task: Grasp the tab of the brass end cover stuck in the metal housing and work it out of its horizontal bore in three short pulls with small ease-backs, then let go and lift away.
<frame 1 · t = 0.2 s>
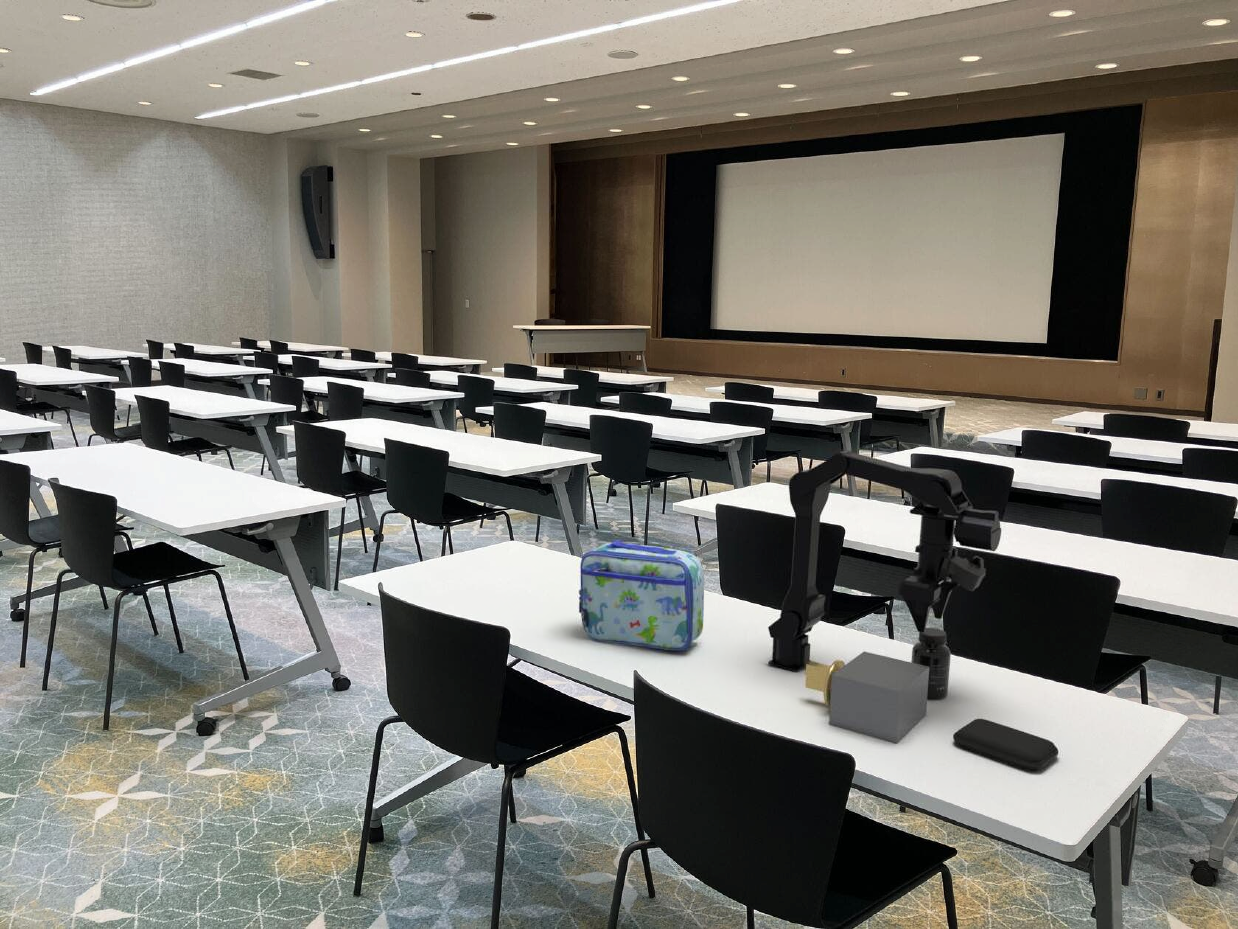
hand: (929, 625, 177), 14 cm above the table, fingers open, 9 cm apart
supplement bottle: (928, 694, 183), on the table
lunch box: (639, 642, 208), on the table
end cover: (835, 683, 175), point 4 cm above the table, slide at 1.5 cm
carrying case or bag: (1005, 753, 161), on the table
housing: (878, 719, 171), on the table
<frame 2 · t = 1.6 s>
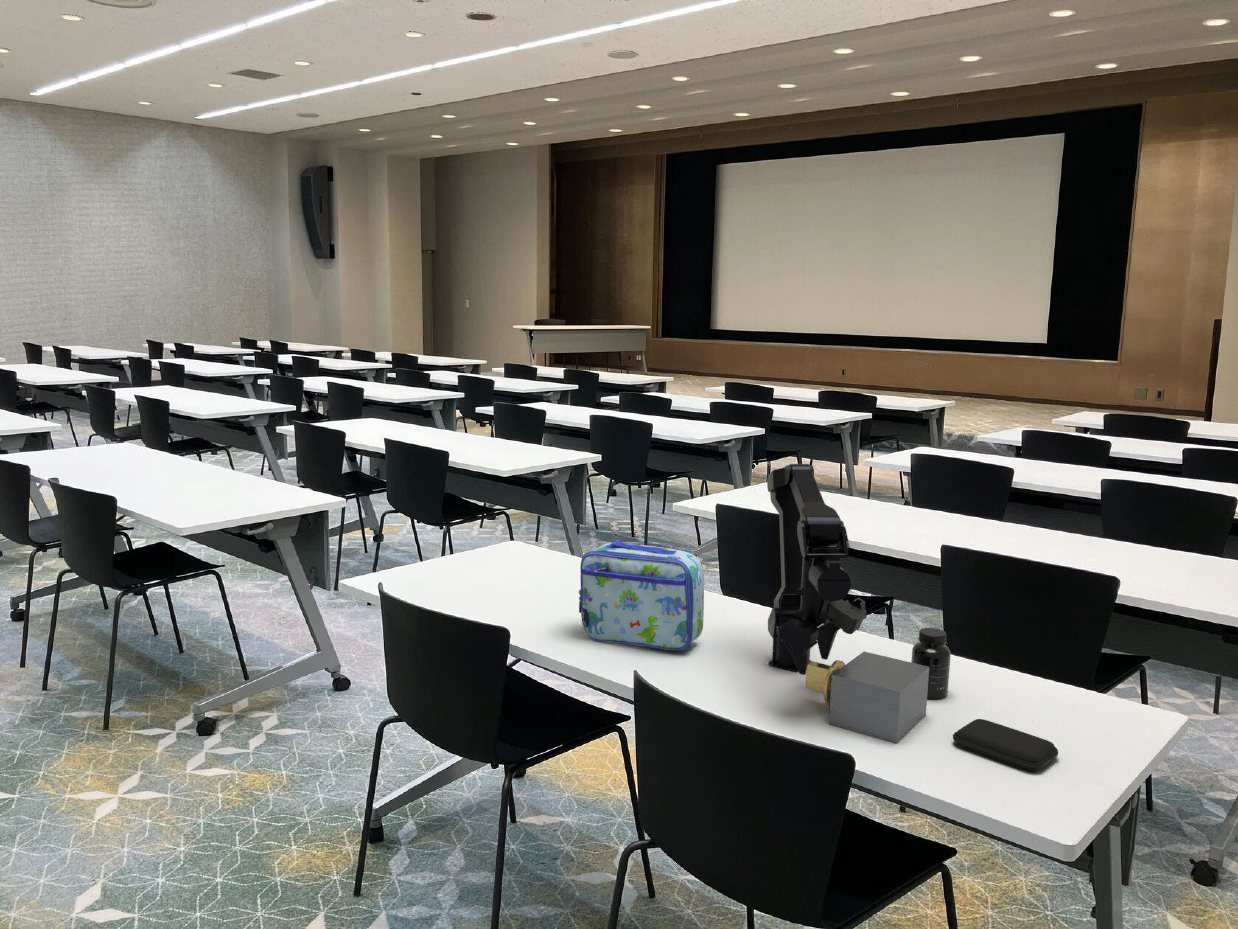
hand: (813, 666, 177), 7 cm above the table, fingers open, 9 cm apart
nothing on the table moved.
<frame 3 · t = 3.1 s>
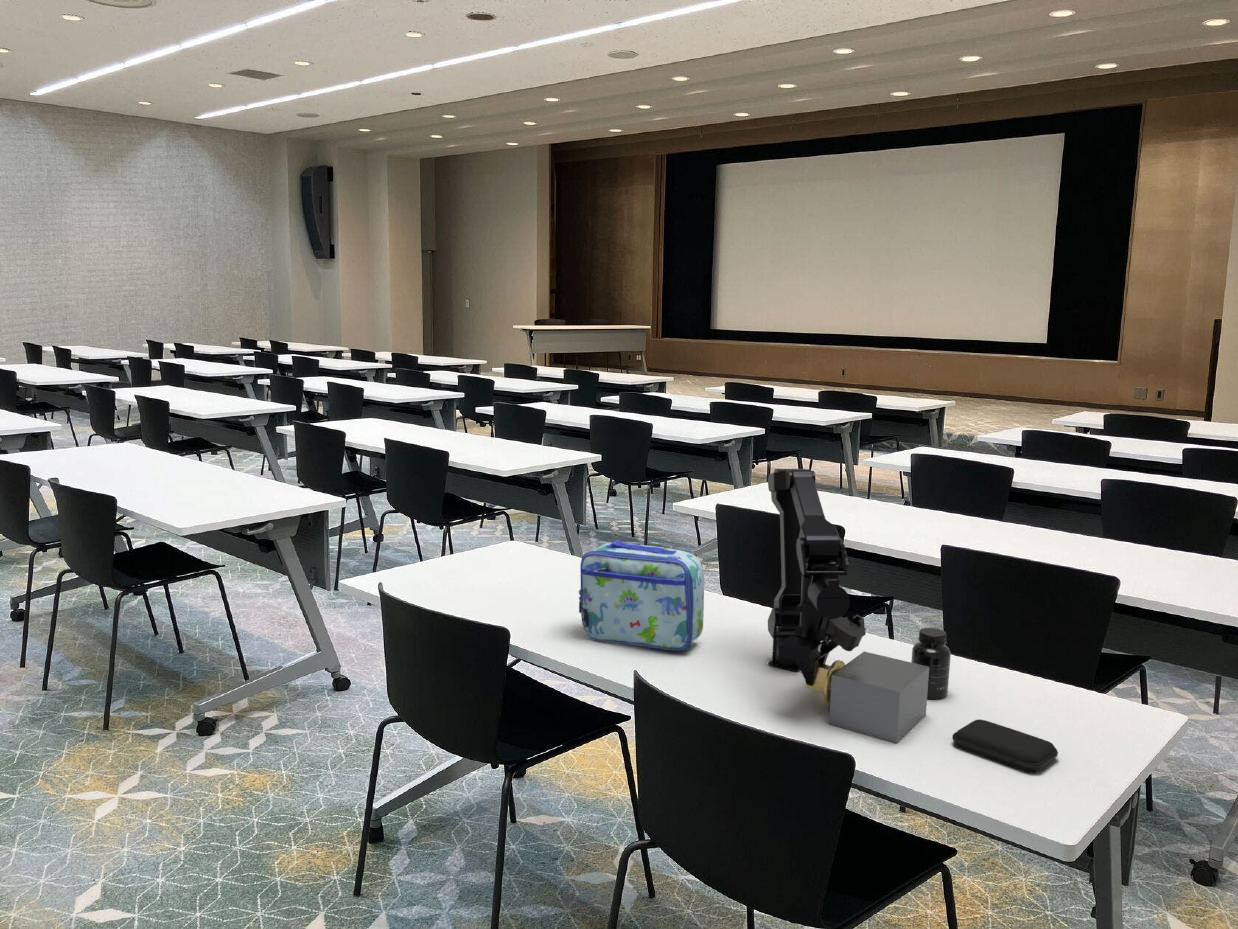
hand: (812, 683, 178), 4 cm above the table, fingers closed on end cover, 2 cm apart
end cover: (835, 683, 175), point 4 cm above the table, slide at 1.5 cm, touching gripper
everything else where it was.
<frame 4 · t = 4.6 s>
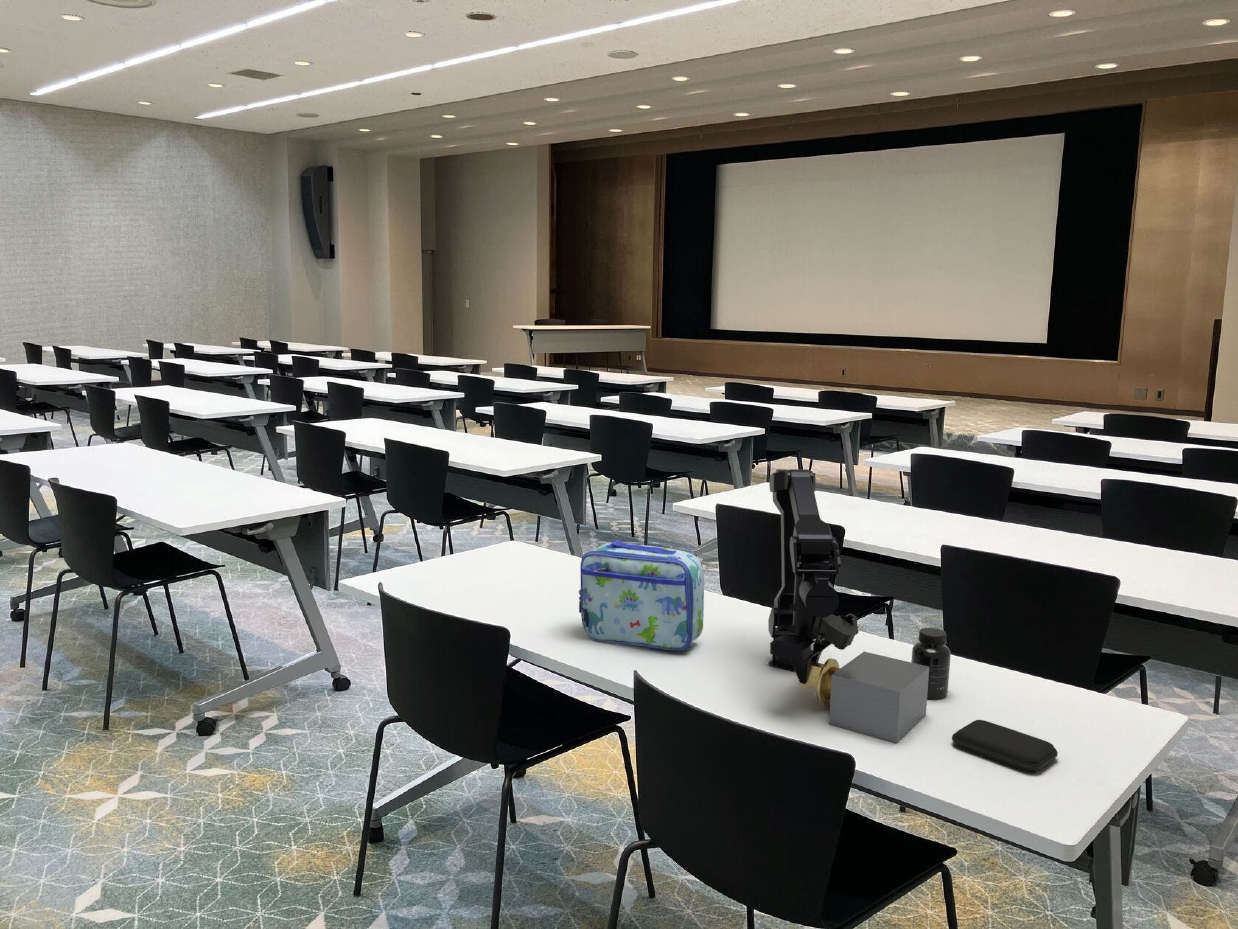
hand: (806, 681, 179), 4 cm above the table, fingers closed on end cover, 2 cm apart
end cover: (828, 682, 176), point 4 cm above the table, slide at 2.8 cm, touching gripper
everything else where it was.
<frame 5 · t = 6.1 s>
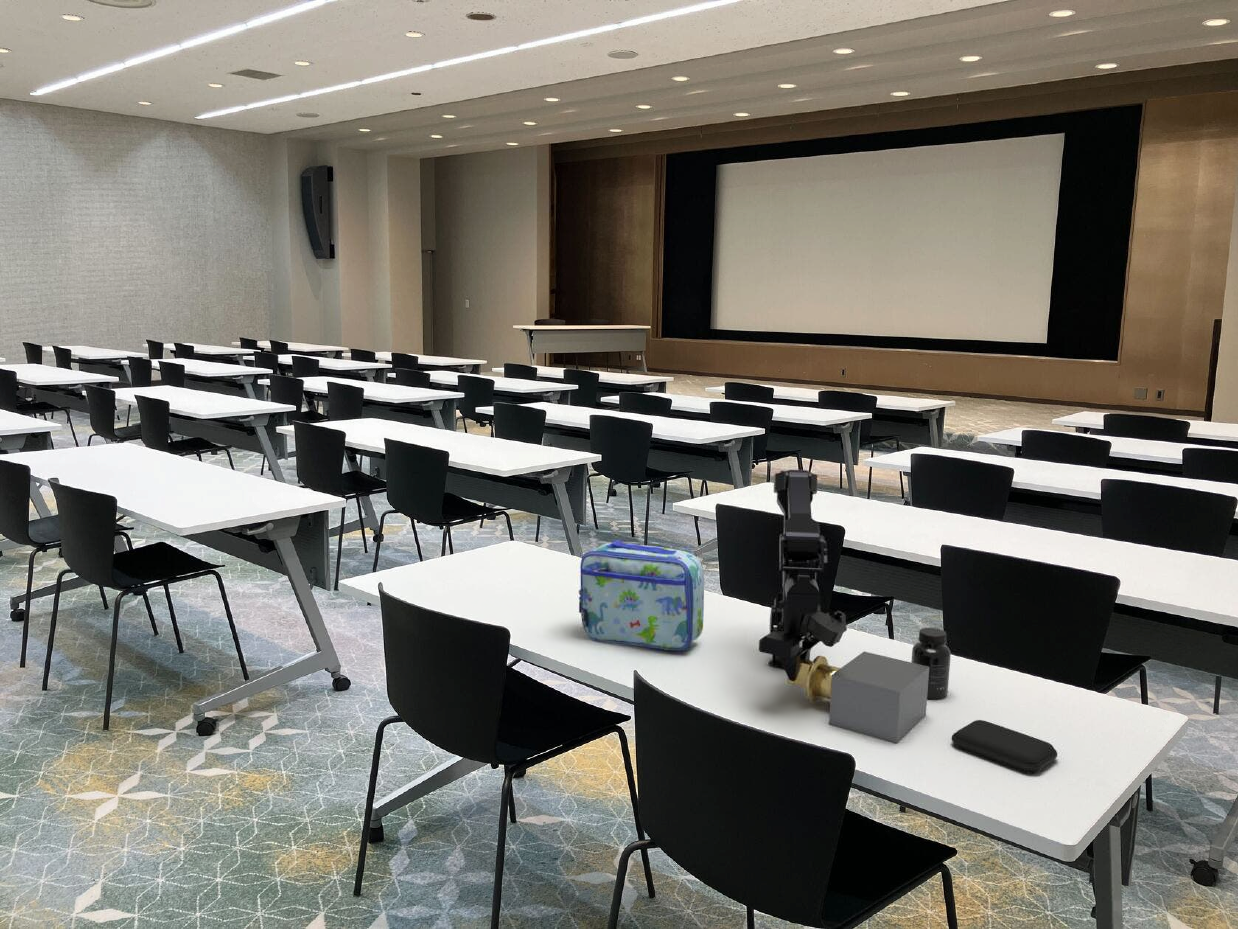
hand: (795, 678, 180), 3 cm above the table, fingers closed on end cover, 2 cm apart
end cover: (817, 679, 177), point 4 cm above the table, slide at 5.0 cm, touching gripper
everything else where it was.
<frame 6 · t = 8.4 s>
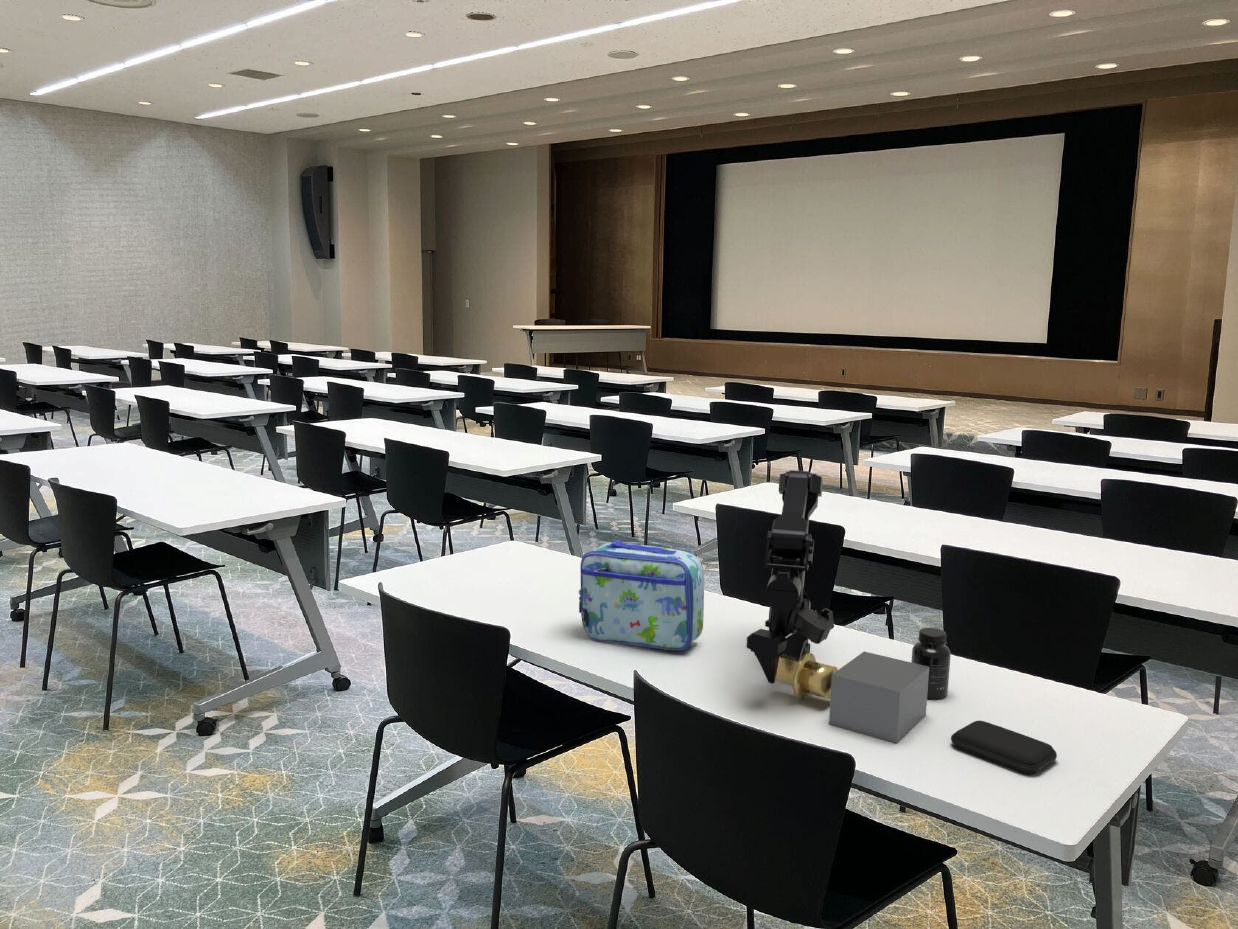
hand: (783, 675, 181), 3 cm above the table, fingers open, 9 cm apart
end cover: (805, 675, 179), point 4 cm above the table, slide at 7.4 cm
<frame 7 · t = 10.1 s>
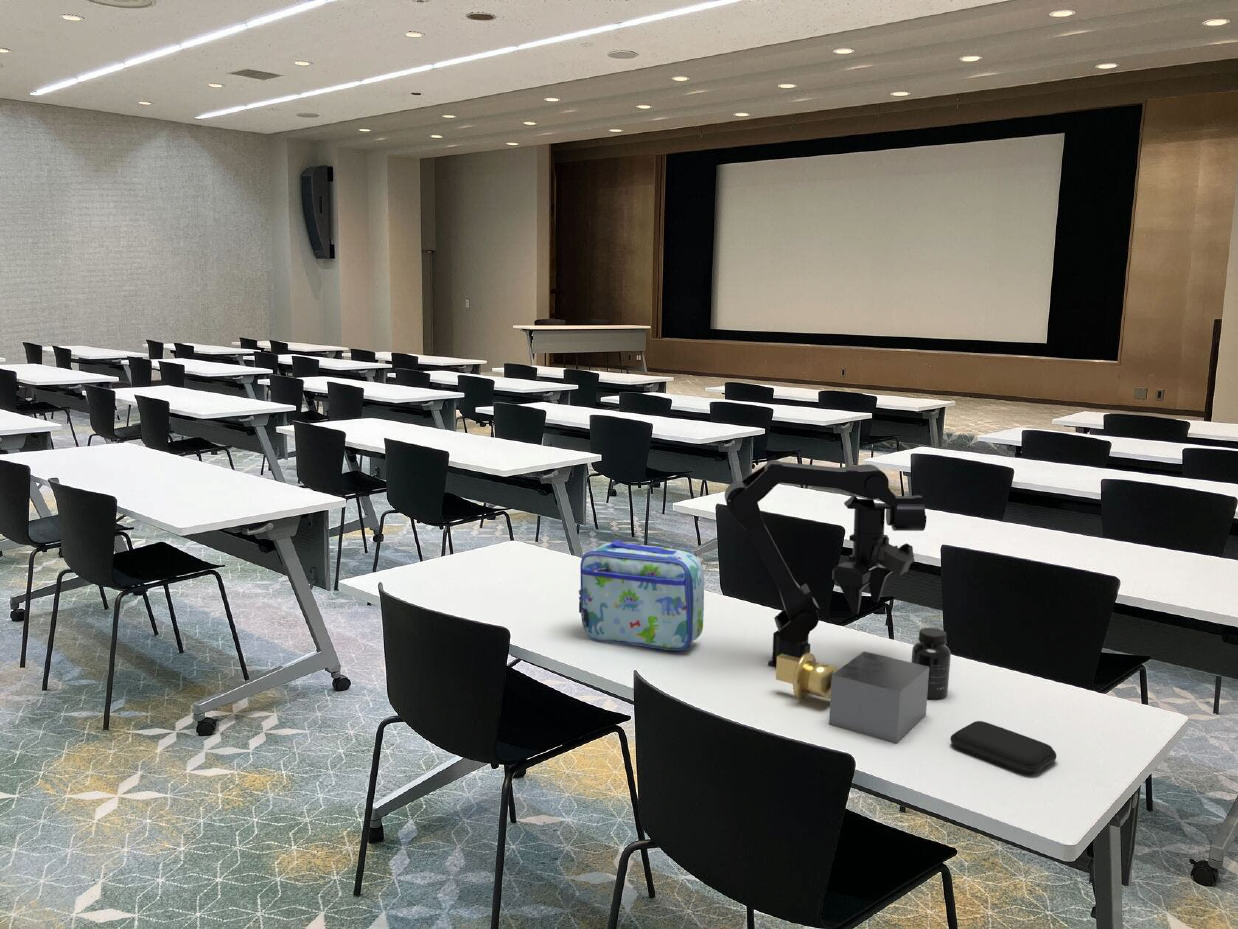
hand: (865, 607, 193), 12 cm above the table, fingers open, 9 cm apart
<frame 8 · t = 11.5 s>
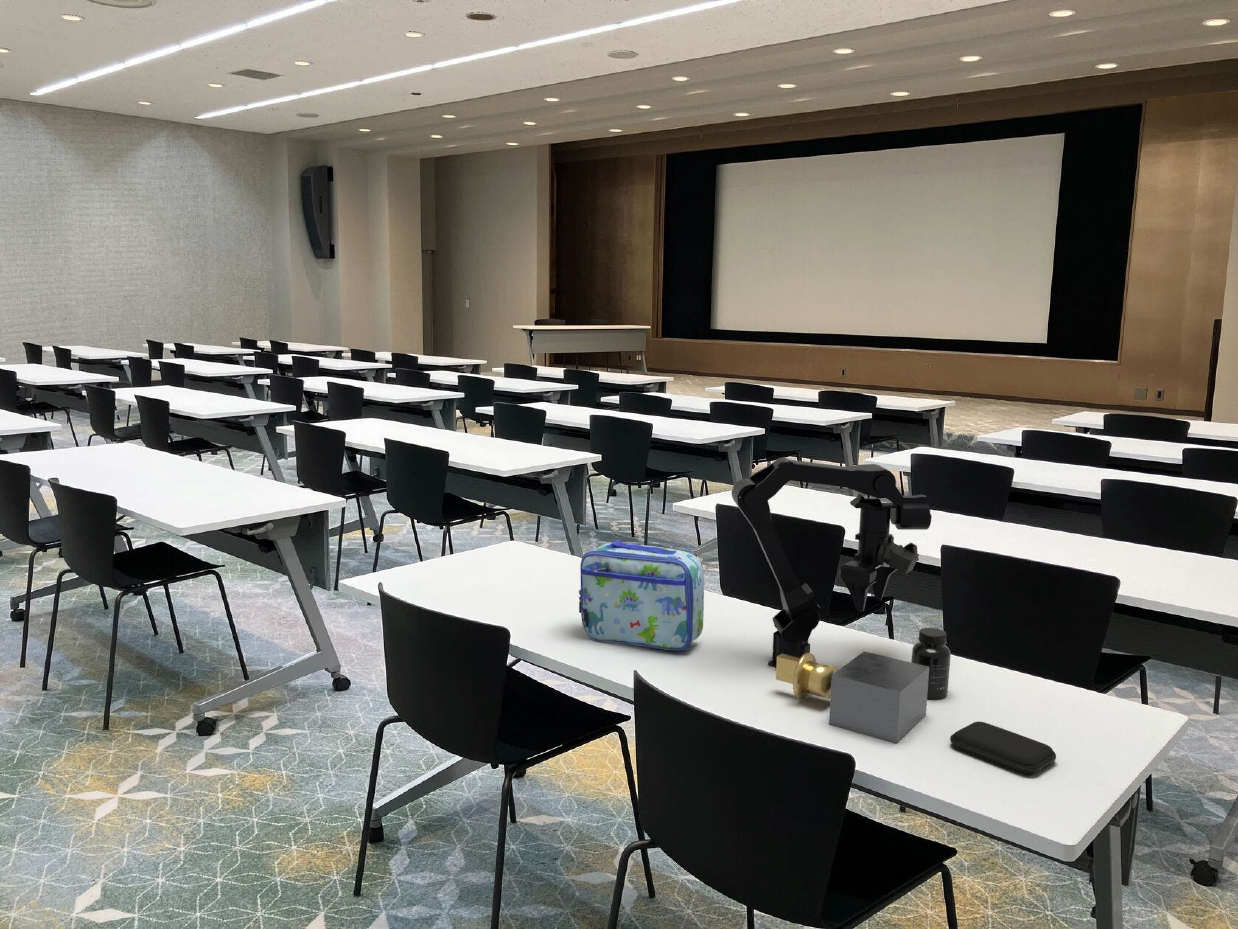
hand: (869, 606, 195), 12 cm above the table, fingers open, 9 cm apart
at the end: end cover slide at 7.4 cm; the gripper is holding nothing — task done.
